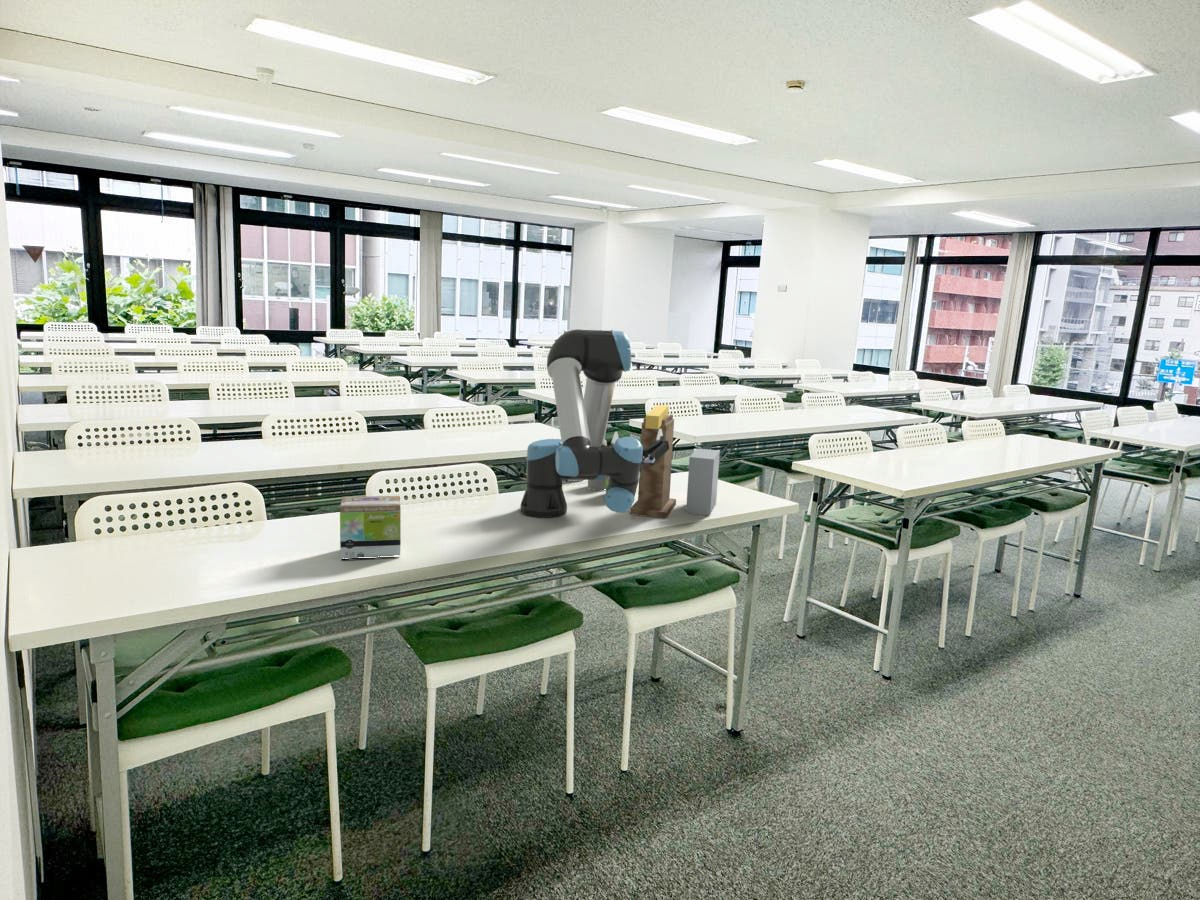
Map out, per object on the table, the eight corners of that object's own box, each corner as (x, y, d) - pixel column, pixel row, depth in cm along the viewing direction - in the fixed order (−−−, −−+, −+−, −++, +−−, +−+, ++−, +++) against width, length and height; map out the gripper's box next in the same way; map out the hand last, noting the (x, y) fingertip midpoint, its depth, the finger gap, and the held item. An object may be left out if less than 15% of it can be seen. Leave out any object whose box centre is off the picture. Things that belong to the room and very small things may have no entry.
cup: (611, 485, 280) (612, 459, 278) (609, 491, 271) (610, 464, 270) (589, 484, 280) (589, 458, 278) (586, 489, 272) (587, 463, 270)
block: (645, 428, 229) (645, 415, 228) (656, 416, 254) (656, 404, 253) (658, 429, 228) (658, 416, 227) (667, 417, 253) (668, 405, 252)
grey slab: (685, 512, 247) (689, 457, 243) (693, 501, 262) (696, 448, 258) (710, 515, 245) (714, 459, 241) (716, 503, 260) (719, 450, 256)
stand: (629, 514, 243) (634, 418, 236) (641, 500, 260) (646, 411, 253) (666, 518, 239) (671, 421, 233) (675, 504, 256) (681, 414, 250)
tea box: (340, 562, 189) (338, 505, 187) (342, 549, 199) (340, 495, 196) (401, 558, 194) (400, 503, 191) (400, 546, 203) (399, 493, 200)
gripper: (586, 485, 211) (601, 447, 229) (673, 481, 205) (681, 442, 223) (581, 463, 208) (596, 426, 225) (669, 458, 201) (678, 420, 219)
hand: (638, 434), depth 224 cm, fingers open, 13 cm apart
